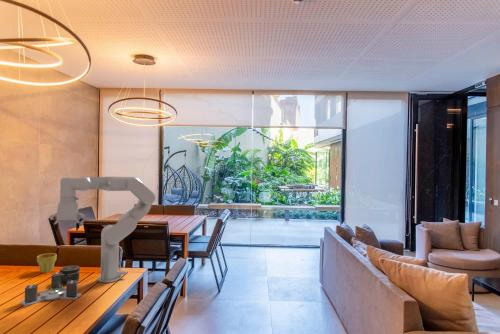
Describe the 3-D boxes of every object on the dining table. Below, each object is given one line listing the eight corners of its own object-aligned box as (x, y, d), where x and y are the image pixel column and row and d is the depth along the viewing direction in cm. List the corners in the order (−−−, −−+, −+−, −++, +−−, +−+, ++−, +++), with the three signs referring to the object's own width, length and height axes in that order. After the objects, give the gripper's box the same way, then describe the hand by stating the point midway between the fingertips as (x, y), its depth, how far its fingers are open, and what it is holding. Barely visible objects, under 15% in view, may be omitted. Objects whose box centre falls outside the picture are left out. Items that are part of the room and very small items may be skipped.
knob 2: (60, 287, 170) (61, 274, 170) (51, 288, 169) (51, 275, 169) (62, 284, 175) (62, 271, 175) (52, 285, 173) (52, 272, 173)
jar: (76, 283, 179) (76, 270, 179) (56, 285, 177) (57, 271, 177) (81, 277, 189) (81, 264, 189) (62, 278, 186) (62, 265, 186)
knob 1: (26, 298, 155) (27, 284, 155) (37, 297, 157) (37, 283, 157) (24, 302, 151) (24, 287, 151) (35, 300, 153) (35, 286, 153)
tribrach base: (84, 283, 180) (84, 278, 180) (80, 299, 159) (80, 293, 159) (29, 289, 170) (29, 284, 170) (18, 307, 149) (18, 301, 149)
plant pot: (49, 274, 193) (49, 258, 193) (32, 273, 194) (33, 257, 194) (59, 268, 204) (60, 253, 204) (43, 268, 204) (44, 252, 204)
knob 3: (67, 293, 162) (67, 279, 162) (77, 292, 164) (77, 279, 164) (66, 297, 158) (66, 283, 158) (76, 295, 160) (76, 282, 160)
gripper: (85, 198, 183) (85, 228, 184) (50, 199, 177) (50, 230, 177) (84, 200, 177) (84, 231, 177) (48, 200, 170) (47, 232, 170)
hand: (67, 230), depth 177 cm, fingers open, 9 cm apart
